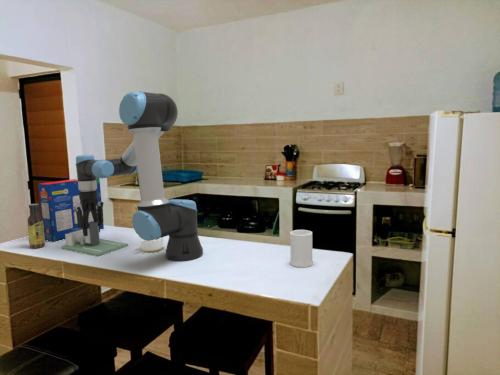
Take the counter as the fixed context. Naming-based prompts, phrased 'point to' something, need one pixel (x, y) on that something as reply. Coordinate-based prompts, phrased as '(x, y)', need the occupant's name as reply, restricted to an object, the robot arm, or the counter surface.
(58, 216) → the pasta box
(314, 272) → the counter surface
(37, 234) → the sauce bottle
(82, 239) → the striker
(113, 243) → the pitch
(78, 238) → the ball
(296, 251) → the mug
